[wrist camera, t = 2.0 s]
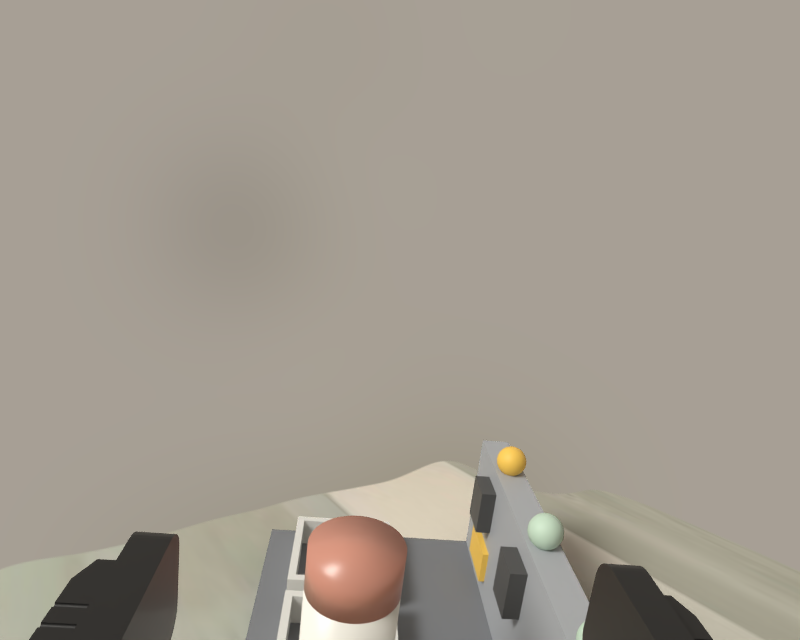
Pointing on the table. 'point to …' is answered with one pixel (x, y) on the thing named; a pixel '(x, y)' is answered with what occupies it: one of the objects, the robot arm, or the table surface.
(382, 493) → the table surface
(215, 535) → the table surface
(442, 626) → the breaker board
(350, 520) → the plug
